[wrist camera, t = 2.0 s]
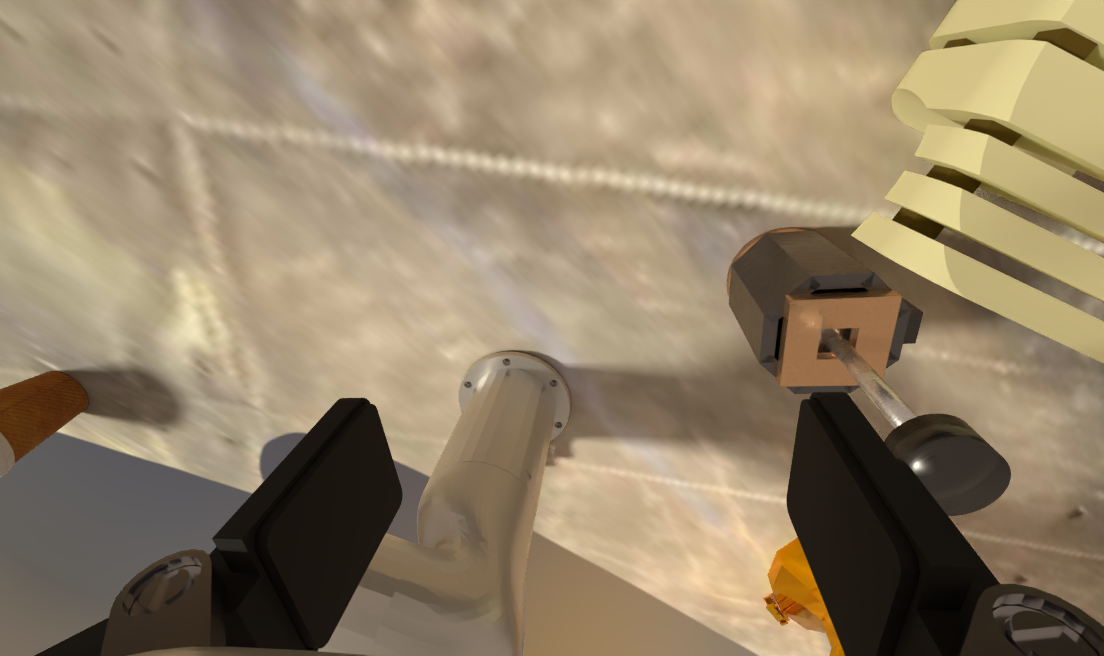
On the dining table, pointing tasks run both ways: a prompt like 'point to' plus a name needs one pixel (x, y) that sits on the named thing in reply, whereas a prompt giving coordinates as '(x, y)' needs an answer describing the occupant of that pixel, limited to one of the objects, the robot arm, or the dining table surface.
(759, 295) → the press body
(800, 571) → the yellow tall piece
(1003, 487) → the plunger
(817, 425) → the robot arm
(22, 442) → the glass of beer
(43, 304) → the dining table surface
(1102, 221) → the slatted curved stool
